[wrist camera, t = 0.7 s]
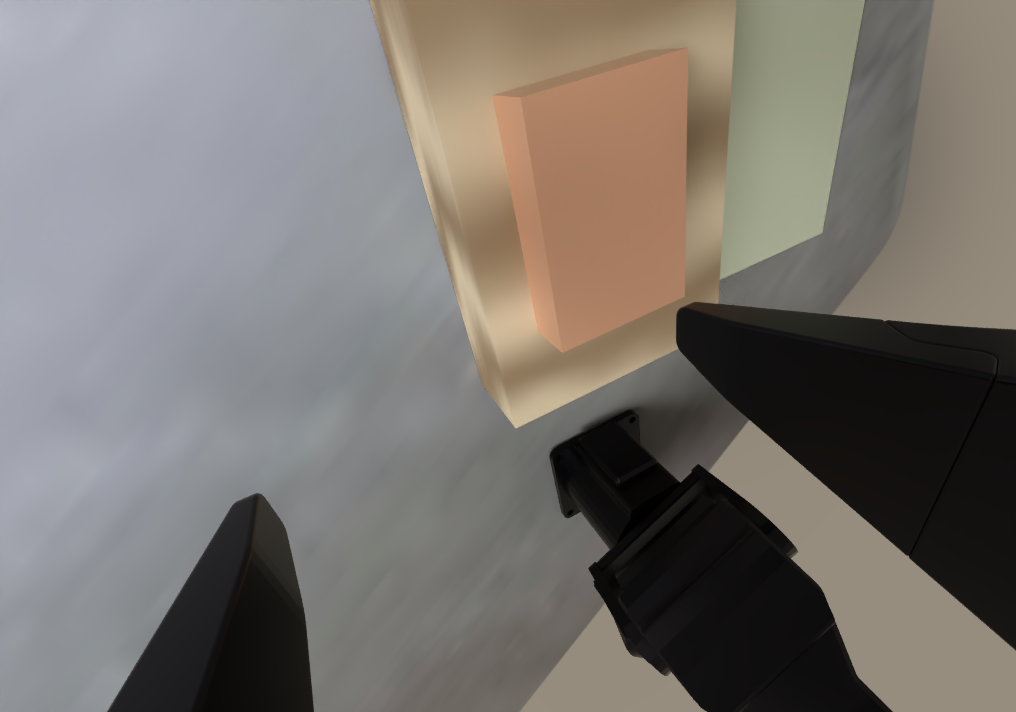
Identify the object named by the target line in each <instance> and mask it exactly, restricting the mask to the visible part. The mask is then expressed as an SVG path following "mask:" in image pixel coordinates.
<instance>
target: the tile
mask: <svg viewBox="0 0 1016 712" xmlns="http://www.w3.org/2000/svg"><path fill="white" fill-rule="evenodd" d="M687 92H688V48H674V49H658V50H646V51H642V52H639V53H635V54H632V55H629V56H625V57H622V58H618V59H615V60H611V61H608V62H605V63H601V64H598V65H594V66H591V67H587V68H584V69H580V70H577V71H574V72H570V73H567V74H563V75H560V76H556V77H553V78H550V79H546V80H543V81H539V82H536V83H532V84H529V85H526V86H522V87H519V88H515V89H512V90H508V91H505V92H502V93H498V94H495V95H492V97H493V102H494V107H495V112H496V118H497V123H498V128H499V133H500V138H501V143H502V149H503V154H504V159H505V164H506V169H507V174H508V180H509V185H510V190H511V195H512V200H513V205H514V211H515V216H516V221H517V226H518V231H519V236H520V242H521V247H522V252H523V257H524V262H525V267H526V273H527V278H528V283H529V288H530V293H531V298H532V304H533V309H534V314H535V319H536V324H537V329H538V332H539V333H540V334H541V335H542V336H543V337H545V338H546V339H547V340H548V341H549V342H550V343H552V344H553V345H554V346H555V347H556V348H557V349H558V350H560V351H561V352H562V353H563V352H566V351H568V350H570V349H572V348H574V347H576V346H579V345H581V344H583V343H585V342H587V341H589V340H592V339H594V338H596V337H598V336H600V335H603V334H605V333H607V332H609V331H611V330H613V329H616V328H618V327H620V326H622V325H624V324H626V323H629V322H631V321H633V320H635V319H637V318H639V317H642V316H644V315H646V314H648V313H650V312H652V311H655V310H657V309H659V308H661V307H663V306H665V305H668V304H670V303H672V302H674V301H676V300H678V299H681V298H683V297H685V235H686V164H687Z"/></svg>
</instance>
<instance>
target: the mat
mask: <svg viewBox="0 0 1016 712" xmlns="http://www.w3.org/2000/svg"><path fill="white" fill-rule="evenodd" d="M864 3H865V0H737V1H736V18H735V34H734V51H733V67H732V84H731V101H730V117H729V134H728V151H727V167H726V184H725V201H724V217H723V234H722V251H721V267H720V280H721V279H723V278H725V277H728V276H730V275H732V274H734V273H736V272H738V271H741V270H743V269H745V268H747V267H749V266H751V265H754V264H756V263H758V262H760V261H762V260H764V259H767V258H769V257H771V256H773V255H775V254H778V253H780V252H782V251H784V250H786V249H788V248H791V247H793V246H795V245H797V244H799V243H801V242H804V241H806V240H808V239H810V238H812V237H814V236H817V235H819V234H821V233H822V231H823V226H824V220H825V215H826V209H827V204H828V199H829V193H830V188H831V182H832V177H833V171H834V166H835V161H836V155H837V150H838V144H839V139H840V133H841V128H842V123H843V117H844V112H845V106H846V101H847V95H848V90H849V85H850V79H851V74H852V68H853V63H854V57H855V52H856V47H857V41H858V36H859V30H860V25H861V19H862V14H863V9H864Z"/></svg>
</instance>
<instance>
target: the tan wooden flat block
mask: <svg viewBox="0 0 1016 712" xmlns="http://www.w3.org/2000/svg"><path fill="white" fill-rule="evenodd" d="M369 1H370V4H371V7H372V11H373V14H374V18H375V21H376V24H377V28H378V31H379V35H380V38H381V41H382V45H383V48H384V52H385V55H386V58H387V62H388V65H389V69H390V72H391V75H392V79H393V82H394V86H395V89H396V92H397V96H398V99H399V103H400V106H401V109H402V113H403V116H404V120H405V123H406V126H407V130H408V133H409V137H410V140H411V143H412V147H413V150H414V153H415V157H416V160H417V164H418V167H419V170H420V174H421V177H422V181H423V184H424V187H425V191H426V194H427V198H428V201H429V204H430V208H431V211H432V215H433V218H434V221H435V225H436V228H437V232H438V235H439V238H440V242H441V245H442V249H443V252H444V255H445V259H446V262H447V266H448V269H449V272H450V276H451V279H452V283H453V286H454V289H455V293H456V296H457V299H458V303H459V306H460V310H461V313H462V316H463V320H464V323H465V327H466V330H467V333H468V337H469V340H470V344H471V347H472V350H473V354H474V357H475V361H476V364H477V367H478V371H479V374H480V378H481V381H482V384H483V386H484V388H485V389H486V390H487V391H488V393H489V394H490V395H491V397H492V398H493V399H494V401H495V402H496V403H497V404H498V406H499V407H500V408H501V410H502V411H503V412H504V414H505V415H506V416H507V417H508V419H509V420H510V421H511V423H512V424H513V425H514V427H515V428H518V427H520V426H522V425H524V424H526V423H528V422H530V421H532V420H534V419H536V418H539V417H541V416H543V415H545V414H547V413H549V412H551V411H553V410H555V409H557V408H559V407H561V406H563V405H565V404H567V403H569V402H571V401H573V400H575V399H577V398H579V397H581V396H583V395H585V394H587V393H589V392H591V391H593V390H595V389H597V388H599V387H601V386H603V385H605V384H608V383H610V382H612V381H614V380H616V379H618V378H620V377H622V376H624V375H626V374H628V373H630V372H632V371H634V370H636V369H638V368H640V367H642V366H644V365H646V364H648V363H650V362H652V361H654V360H656V359H658V358H660V357H662V356H664V355H666V354H668V353H670V352H672V351H674V350H676V349H679V348H678V346H677V344H676V313H677V311H678V310H679V309H680V308H681V307H683V306H685V305H688V304H690V303H692V302H704V303H715V304H718V300H719V284H720V267H721V251H722V234H723V217H724V201H725V184H726V167H727V151H728V134H729V117H730V101H731V84H732V67H733V51H734V34H735V18H736V1H737V0H369ZM674 48H688V92H687V164H686V235H685V297H683V298H681V299H678V300H676V301H674V302H672V303H670V304H668V305H665V306H663V307H661V308H659V309H657V310H655V311H652V312H650V313H648V314H646V315H644V316H642V317H639V318H637V319H635V320H633V321H631V322H629V323H626V324H624V325H622V326H620V327H618V328H616V329H613V330H611V331H609V332H607V333H605V334H603V335H600V336H598V337H596V338H594V339H592V340H589V341H587V342H585V343H583V344H581V345H579V346H576V347H574V348H572V349H570V350H568V351H566V352H563V353H562V352H561V351H560V350H558V349H557V348H556V347H555V346H554V345H553V344H552V343H550V342H549V341H548V340H547V339H546V338H545V337H543V336H542V335H541V334H540V333H539V332H538V329H537V324H536V319H535V314H534V309H533V304H532V298H531V293H530V288H529V283H528V278H527V273H526V267H525V262H524V257H523V252H522V247H521V242H520V236H519V231H518V226H517V221H516V216H515V211H514V205H513V200H512V195H511V190H510V185H509V180H508V174H507V169H506V164H505V159H504V154H503V149H502V143H501V138H500V133H499V128H498V123H497V118H496V112H495V107H494V102H493V97H492V95H495V94H498V93H502V92H505V91H508V90H512V89H515V88H519V87H522V86H526V85H529V84H532V83H536V82H539V81H543V80H546V79H550V78H553V77H556V76H560V75H563V74H567V73H570V72H574V71H577V70H580V69H584V68H587V67H591V66H594V65H598V64H601V63H605V62H608V61H611V60H615V59H618V58H622V57H625V56H629V55H632V54H635V53H639V52H642V51H646V50H658V49H674Z"/></svg>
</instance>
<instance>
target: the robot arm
mask: <svg viewBox="0 0 1016 712" xmlns="http://www.w3.org/2000/svg"><path fill="white" fill-rule="evenodd" d="M676 344H677V346H678V348H679V350H680V351H681V353H682V354H683V355H684V356H685V357H686V358H687V359H688V360H689V361H690V362H691V363H692V364H693V365H694V366H695V367H696V368H697V370H698V371H699V372H700V373H701V374H702V375H703V376H704V377H705V378H706V379H707V380H708V381H709V382H710V383H711V384H712V385H713V386H714V388H715V389H716V390H717V391H718V392H719V393H720V394H721V395H722V396H723V397H724V398H725V399H726V400H728V401H729V402H730V403H731V404H732V405H733V406H734V407H735V408H737V409H738V410H739V411H740V412H741V413H742V414H743V415H745V416H746V417H747V418H748V419H749V420H750V421H752V422H753V423H754V424H755V425H756V426H757V427H759V428H760V429H761V430H762V431H763V432H764V433H765V434H767V435H768V436H769V437H770V438H771V439H773V440H774V441H775V442H776V443H777V444H778V445H780V447H782V448H783V449H784V450H785V451H786V452H787V453H789V454H790V455H791V456H792V457H793V458H794V459H796V460H797V461H798V462H799V463H800V464H801V465H803V466H804V467H805V468H806V469H807V470H808V471H809V472H811V473H812V474H813V475H814V476H815V477H817V478H818V479H819V480H820V481H821V482H822V483H823V484H824V485H826V486H827V487H828V488H829V489H830V490H831V491H833V492H834V493H835V494H836V495H838V497H840V498H841V499H842V500H843V501H844V502H845V503H846V504H848V505H849V506H850V507H851V508H852V509H853V510H855V511H856V512H857V513H858V514H859V515H860V516H861V517H863V518H864V519H865V520H866V521H867V522H869V523H870V524H871V525H872V526H873V527H874V528H875V529H876V530H878V531H879V532H880V533H881V534H882V535H883V536H885V537H886V538H887V539H888V540H889V541H890V542H892V543H893V544H894V545H895V546H896V547H897V548H899V549H900V550H901V551H902V552H903V553H904V554H905V555H907V556H909V558H910V559H911V560H912V561H913V562H914V563H915V564H916V565H918V566H919V567H920V568H921V569H922V570H923V571H925V572H926V573H927V574H928V575H929V576H930V577H932V578H933V579H934V580H935V581H936V582H937V583H938V584H940V585H941V586H942V587H943V588H944V589H945V590H947V591H948V592H949V593H950V594H951V595H952V596H954V597H955V598H956V599H957V600H958V601H959V602H960V603H962V604H963V605H964V606H965V607H966V608H968V610H970V611H971V612H972V613H973V614H974V615H975V616H977V617H978V618H979V619H980V620H981V621H982V622H984V623H985V624H986V625H987V626H988V627H989V628H990V629H992V630H993V631H994V632H995V633H996V634H997V635H999V636H1000V637H1001V638H1002V639H1003V640H1004V641H1005V642H1007V643H1008V644H1009V645H1010V646H1011V647H1013V648H1014V649H1015V650H1016V330H1013V329H996V328H977V327H963V326H947V325H935V324H922V323H911V322H900V321H891V320H887V321H883V320H879V319H868V318H859V317H849V316H838V315H828V314H818V313H807V312H797V311H787V310H776V309H766V308H756V307H746V306H735V305H725V304H715V303H704V302H692V303H690V304H688V305H685V306H683V307H681V308H680V309H679V310H678V311H677V313H676ZM557 456H558V457H557ZM550 462H551V466H552V471H553V475H554V480H555V485H556V489H557V494H558V499H559V503H560V508H561V512H562V514H563V515H564V516H565V518H570V517H572V516H574V515H576V514H578V513H579V512H581V513H582V514H583V515H584V517H585V518H586V519H587V520H588V522H589V523H590V524H591V526H592V527H593V528H594V530H595V531H596V532H597V533H598V535H599V536H600V537H601V539H602V540H603V541H604V543H605V544H606V545H607V546H608V548H609V549H610V550H609V551H608V552H607V553H606V554H605V555H604V556H603V557H602V558H601V559H600V560H599V561H598V562H597V563H596V562H594V563H593V564H592V565H591V566H590V567H589V568H588V569H589V571H590V572H591V574H592V576H593V578H594V579H595V581H594V587H595V588H596V589H597V591H598V592H599V594H600V595H601V597H602V598H603V600H604V602H605V603H606V605H607V607H608V609H609V610H610V612H611V614H612V616H613V617H614V620H615V623H616V625H617V627H618V630H619V632H620V635H621V637H622V640H623V642H624V644H625V646H626V648H627V650H628V651H629V653H630V654H631V655H632V656H635V657H641V658H644V659H645V660H646V661H647V662H649V663H650V664H651V665H652V666H653V667H654V668H655V669H657V670H658V671H659V672H660V673H661V674H663V675H664V676H668V675H669V674H670V673H671V672H672V673H673V674H674V675H675V677H676V678H677V679H678V681H679V682H680V683H681V684H682V686H684V688H685V689H686V690H687V692H688V693H689V694H690V695H691V697H692V698H693V699H694V700H695V701H696V702H697V703H698V704H699V706H700V707H701V708H702V709H704V710H705V711H707V712H892V711H891V710H890V709H889V708H888V707H887V706H886V705H885V704H884V703H883V702H882V701H881V700H880V699H879V698H878V697H877V696H876V695H875V694H874V693H873V692H872V691H871V690H870V689H869V688H868V687H867V686H866V685H865V684H864V683H863V682H862V681H861V680H860V679H859V678H858V676H857V675H856V672H855V670H854V667H853V665H852V662H851V660H850V657H849V655H848V652H847V650H846V648H845V645H844V642H843V640H842V637H841V635H840V632H839V630H838V627H837V625H836V622H835V619H834V616H833V614H832V612H831V609H830V607H829V605H828V603H827V600H826V597H825V595H824V593H823V591H822V589H821V588H820V586H819V585H818V584H817V583H816V582H815V581H814V580H813V579H812V578H811V577H810V576H808V575H807V574H806V573H805V572H804V571H803V570H802V569H801V568H800V567H799V566H798V565H797V564H796V563H795V562H794V561H793V560H791V558H792V557H793V556H794V555H795V554H796V553H797V552H798V551H797V549H796V547H795V546H794V545H793V544H792V542H791V541H790V540H789V539H788V538H787V537H786V536H785V535H784V534H783V533H782V532H781V531H780V530H779V529H778V528H777V527H776V526H775V525H774V524H773V523H772V522H771V521H770V520H769V519H768V518H767V517H765V516H764V515H763V514H762V513H761V512H760V511H759V510H757V509H756V508H755V507H754V506H753V505H752V504H750V503H749V502H748V501H746V500H745V499H744V498H742V497H741V496H740V495H739V494H737V493H736V492H735V491H733V490H732V489H731V488H729V487H728V486H727V485H725V484H724V483H723V482H721V481H720V480H719V479H717V478H716V477H715V476H713V475H712V474H711V473H709V472H708V471H707V470H706V469H704V468H703V467H702V466H700V465H699V464H697V465H696V466H695V467H694V468H693V469H692V470H691V471H692V472H691V473H690V474H689V475H688V476H687V477H686V478H685V479H684V480H683V481H682V482H681V483H680V482H679V481H678V480H677V479H676V478H675V477H674V476H673V475H672V474H670V473H669V472H668V471H667V470H666V469H665V468H664V467H663V466H662V465H661V464H660V463H659V462H658V461H657V460H656V459H655V458H654V457H653V456H652V455H651V454H650V453H649V452H648V451H647V450H646V449H645V448H644V447H642V446H641V445H640V432H639V416H638V414H637V413H635V412H634V411H633V410H630V411H627V412H625V413H623V414H621V415H619V416H617V417H615V418H614V419H612V420H610V421H608V422H606V423H604V424H602V425H600V426H598V427H596V428H594V429H592V430H590V431H588V432H586V433H585V434H583V435H581V436H579V437H577V438H575V439H573V440H571V441H569V442H567V443H565V444H563V445H561V446H559V447H557V448H555V449H554V450H553V451H552V452H551V453H550ZM107 712H314V707H313V696H312V685H311V673H310V662H309V651H308V640H307V629H306V621H305V613H304V608H303V603H302V598H301V594H300V589H299V585H298V580H297V576H296V571H295V567H294V562H293V558H292V553H291V549H290V544H289V540H288V536H287V532H286V529H285V527H284V525H283V523H282V521H281V520H280V518H279V517H278V515H277V514H276V513H275V511H274V510H273V508H272V507H271V505H270V504H269V503H268V501H267V500H266V498H265V497H264V496H263V495H262V494H259V493H256V494H253V495H251V496H249V497H246V498H244V499H242V500H239V501H237V502H236V503H234V504H233V505H232V507H231V508H230V510H229V512H228V513H227V515H226V517H225V518H224V520H223V522H222V523H221V525H220V527H219V528H218V530H217V531H216V533H215V535H214V536H213V538H212V540H211V541H210V543H209V545H208V546H207V548H206V550H205V551H204V553H203V555H202V556H201V558H200V559H199V561H198V563H197V564H196V566H195V568H194V569H193V571H192V573H191V574H190V576H189V578H188V579H187V581H186V583H185V584H184V586H183V587H182V589H181V591H180V592H179V594H178V596H177V597H176V599H175V601H174V602H173V604H172V606H171V607H170V609H169V611H168V612H167V614H166V616H165V617H164V619H163V620H162V622H161V624H160V625H159V627H158V629H157V630H156V632H155V634H154V635H153V637H152V639H151V640H150V642H149V644H148V645H147V647H146V648H145V650H144V652H143V653H142V655H141V657H140V658H139V660H138V662H137V663H136V665H135V667H134V668H133V670H132V672H131V673H130V675H129V676H128V678H127V680H126V681H125V683H124V685H123V686H122V688H121V690H120V691H119V693H118V695H117V696H116V698H115V700H114V701H113V703H112V704H111V706H110V708H109V709H108V711H107Z"/></svg>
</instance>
